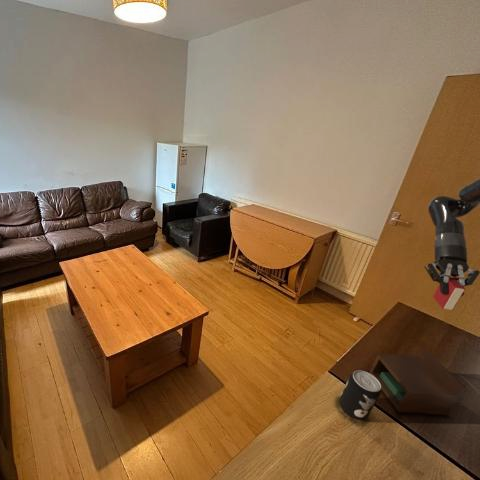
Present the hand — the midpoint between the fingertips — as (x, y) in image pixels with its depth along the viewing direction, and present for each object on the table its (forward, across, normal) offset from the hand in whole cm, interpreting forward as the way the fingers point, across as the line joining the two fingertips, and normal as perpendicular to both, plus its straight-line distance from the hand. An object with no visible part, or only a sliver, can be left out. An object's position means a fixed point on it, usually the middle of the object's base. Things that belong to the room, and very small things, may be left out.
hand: (452, 295), depth 85 cm
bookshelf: (+34, -16, -10) cm, 39 cm away
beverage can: (+43, -31, -18) cm, 56 cm away
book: (+2, 0, +5) cm, 5 cm away
